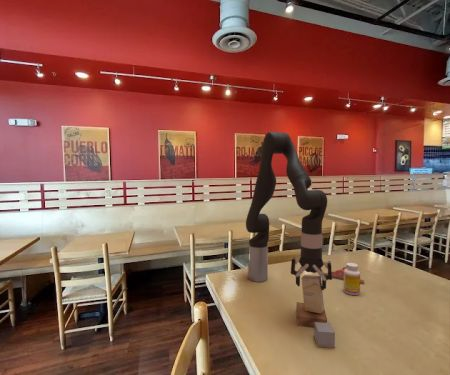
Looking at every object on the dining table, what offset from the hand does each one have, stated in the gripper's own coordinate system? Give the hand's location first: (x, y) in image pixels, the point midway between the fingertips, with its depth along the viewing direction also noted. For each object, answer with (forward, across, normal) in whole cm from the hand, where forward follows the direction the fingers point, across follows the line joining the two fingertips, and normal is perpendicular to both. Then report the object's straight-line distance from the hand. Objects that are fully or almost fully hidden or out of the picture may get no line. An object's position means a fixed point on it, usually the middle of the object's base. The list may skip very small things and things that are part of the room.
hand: (310, 287), depth 95 cm
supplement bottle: (+12, +16, +28) cm, 34 cm away
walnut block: (+12, 0, 0) cm, 13 cm away
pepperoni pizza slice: (+13, +15, +50) cm, 54 cm away
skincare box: (+8, +2, 0) cm, 8 cm away
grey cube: (+12, +5, -12) cm, 18 cm away
